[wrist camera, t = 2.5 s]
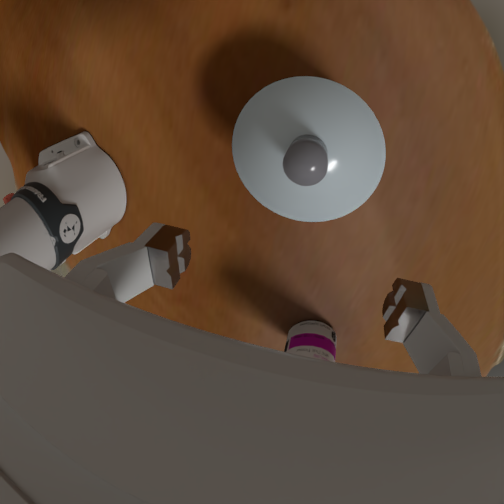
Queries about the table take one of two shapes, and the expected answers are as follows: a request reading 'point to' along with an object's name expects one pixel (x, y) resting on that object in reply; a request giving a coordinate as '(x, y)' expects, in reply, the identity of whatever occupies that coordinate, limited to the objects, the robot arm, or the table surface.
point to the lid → (308, 149)
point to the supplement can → (312, 340)
